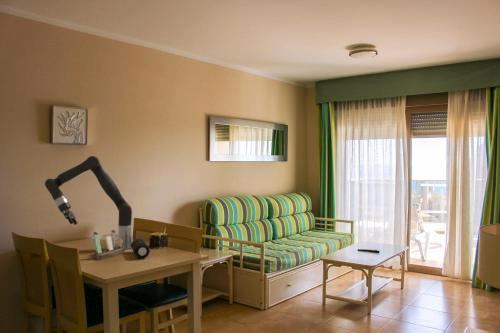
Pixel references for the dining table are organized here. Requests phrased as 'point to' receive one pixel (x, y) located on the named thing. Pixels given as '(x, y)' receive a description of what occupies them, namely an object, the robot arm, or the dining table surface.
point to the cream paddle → (109, 242)
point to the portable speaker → (140, 248)
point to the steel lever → (114, 239)
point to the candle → (158, 239)
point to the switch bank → (107, 253)
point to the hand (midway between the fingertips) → (74, 223)
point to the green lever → (97, 242)
